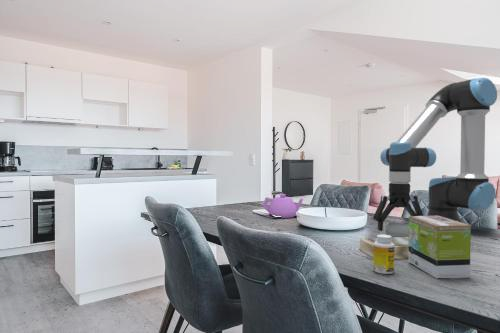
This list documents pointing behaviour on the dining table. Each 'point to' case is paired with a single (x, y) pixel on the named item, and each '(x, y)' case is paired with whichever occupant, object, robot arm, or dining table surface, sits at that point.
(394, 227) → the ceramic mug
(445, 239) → the tea box
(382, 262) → the supplement bottle
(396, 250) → the dock
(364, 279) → the dining table surface
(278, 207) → the teapot
